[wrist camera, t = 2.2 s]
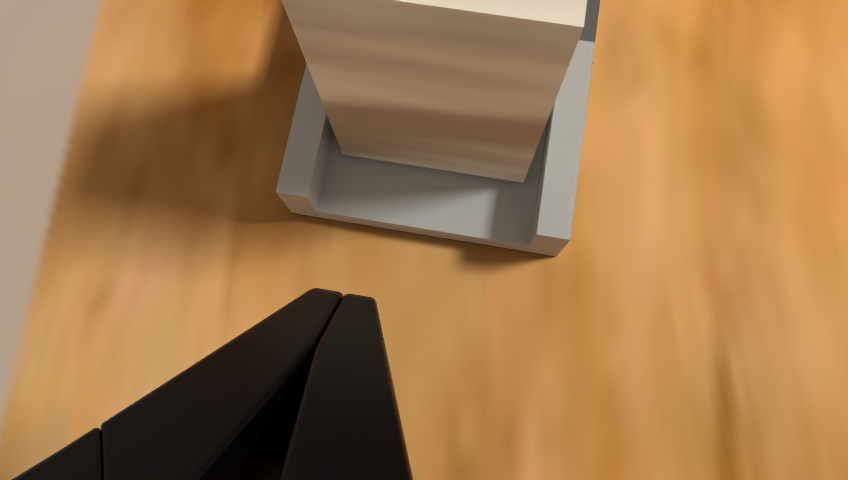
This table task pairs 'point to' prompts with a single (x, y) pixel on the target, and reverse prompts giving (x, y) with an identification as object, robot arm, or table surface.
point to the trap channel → (446, 176)
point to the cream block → (439, 77)
